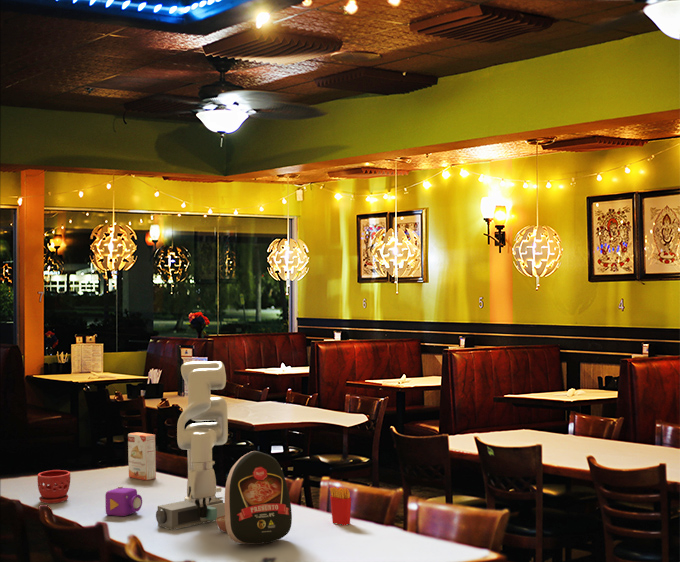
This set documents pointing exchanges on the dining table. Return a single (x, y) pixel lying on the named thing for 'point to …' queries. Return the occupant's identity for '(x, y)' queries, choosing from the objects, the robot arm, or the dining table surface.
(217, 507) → the side door
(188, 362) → the robot arm
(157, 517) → the camera housing
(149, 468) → the cracker box
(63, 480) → the plant pot
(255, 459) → the packaged food
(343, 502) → the french fries
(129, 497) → the toy camera
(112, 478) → the dining table surface
